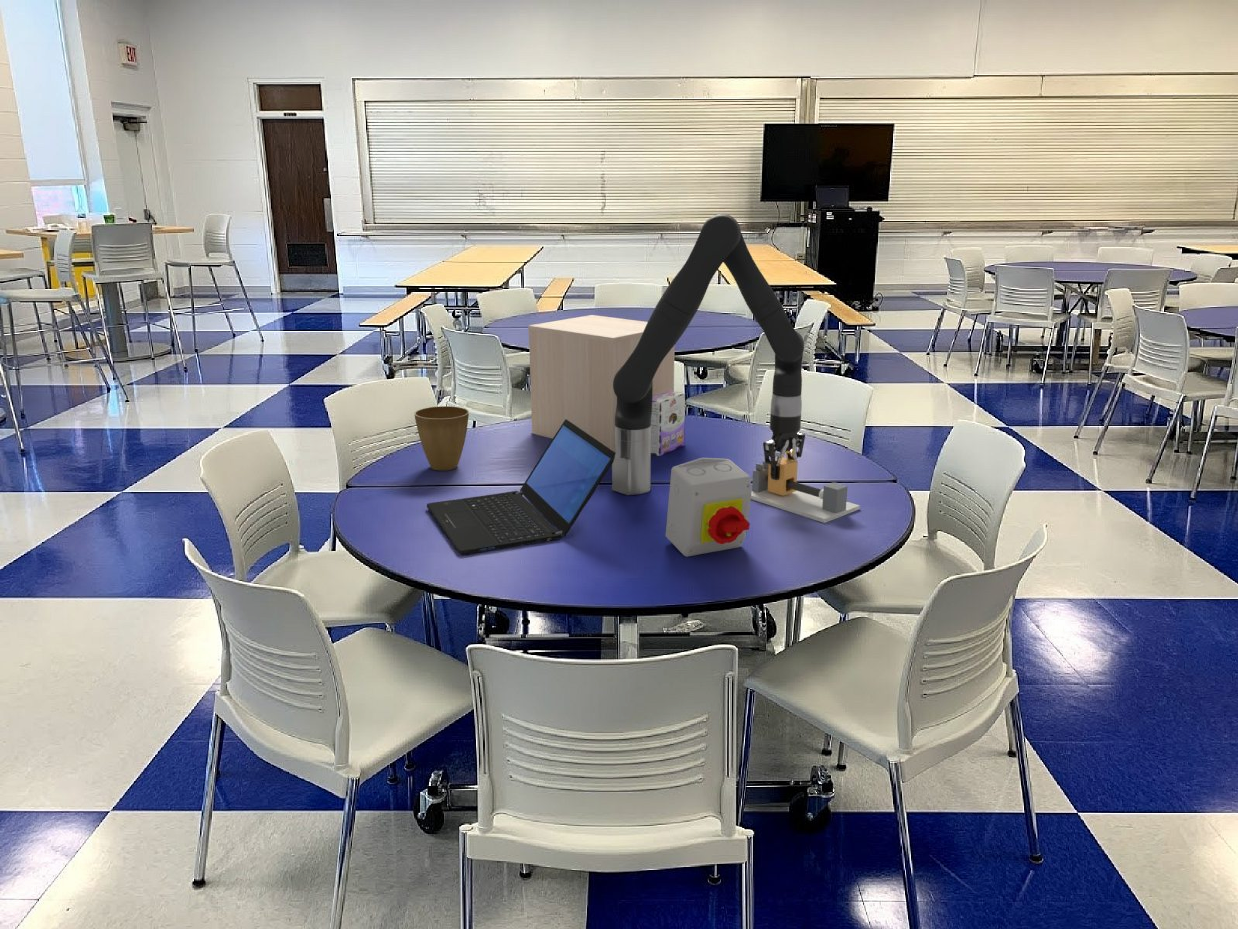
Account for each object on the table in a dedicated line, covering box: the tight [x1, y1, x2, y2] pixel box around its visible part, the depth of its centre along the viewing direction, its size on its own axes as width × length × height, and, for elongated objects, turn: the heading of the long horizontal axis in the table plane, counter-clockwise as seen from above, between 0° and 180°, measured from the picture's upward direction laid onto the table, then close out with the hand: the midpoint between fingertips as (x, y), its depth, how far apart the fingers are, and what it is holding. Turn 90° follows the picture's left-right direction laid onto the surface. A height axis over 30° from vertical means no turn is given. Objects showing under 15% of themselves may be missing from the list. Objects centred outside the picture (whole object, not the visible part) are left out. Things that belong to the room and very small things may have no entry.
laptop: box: [426, 419, 616, 555], centre depth 222 cm, size 33×38×19 cm
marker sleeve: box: [768, 456, 799, 496], centre depth 238 cm, size 5×5×8 cm
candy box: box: [651, 391, 686, 457], centre depth 279 cm, size 14×6×16 cm, turn 144°
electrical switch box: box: [665, 457, 752, 558], centre depth 203 cm, size 15×15×20 cm
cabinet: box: [527, 314, 676, 452], centre depth 294 cm, size 35×29×34 cm
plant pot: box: [413, 405, 470, 471], centre depth 263 cm, size 15×15×16 cm
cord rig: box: [751, 460, 861, 524], centre depth 234 cm, size 25×14×8 cm, turn 42°
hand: (782, 476), depth 238 cm, fingers closed on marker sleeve, 5 cm apart
